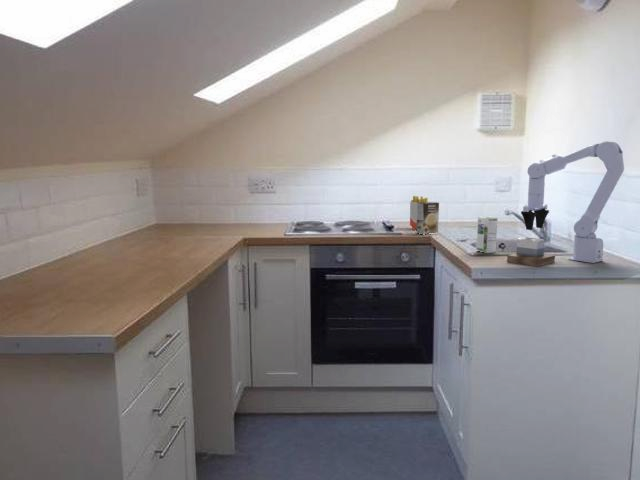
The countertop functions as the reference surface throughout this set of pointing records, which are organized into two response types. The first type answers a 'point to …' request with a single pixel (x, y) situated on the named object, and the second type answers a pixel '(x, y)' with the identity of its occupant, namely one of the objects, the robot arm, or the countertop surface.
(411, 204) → the french fries container
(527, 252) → the block
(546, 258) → the stand
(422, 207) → the coffee box
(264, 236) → the countertop surface
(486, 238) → the syrup box
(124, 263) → the countertop surface
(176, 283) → the countertop surface
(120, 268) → the countertop surface
